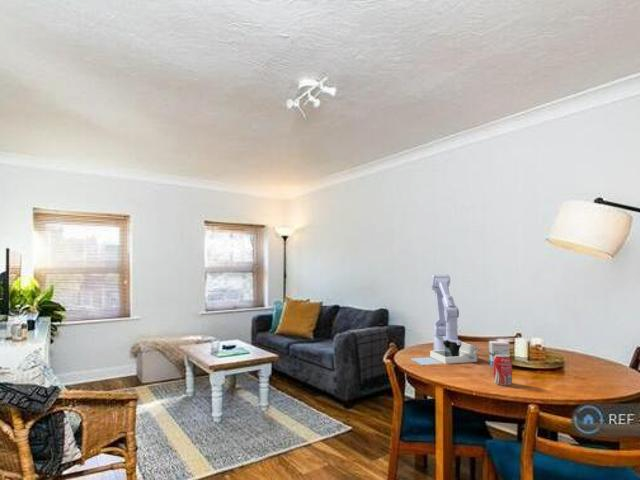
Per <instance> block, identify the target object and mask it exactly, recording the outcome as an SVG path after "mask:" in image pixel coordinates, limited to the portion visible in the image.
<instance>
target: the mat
mask: <svg viewBox="0 0 640 480" xmlns="http://www.w3.org/2000/svg"><path fill="white" fill-rule="evenodd" d="M410 360H411V361H413V362H414V363H417V364H418V365H421V366H422V367H423V366H425V365H438V364H439V365H440V364H441V365H442V364H443V362H440V361H438V360H436V359H434V358H432V357H430V356H429V357H428V356H426V357H413V358H412V357H411V358H410Z"/></svg>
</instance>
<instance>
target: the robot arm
mask: <svg viewBox="0 0 640 480" xmlns="http://www.w3.org/2000/svg"><path fill="white" fill-rule="evenodd" d="M450 285H451V276H450V275H449V274H432V275H431V276H430V287H431V290H433V291H434V294H435V303H436V313H437V314H436V315H437V320H435V321H434V322H433V324H432V326H433V335H434V338H433V350H431V351H439V350H445V347H451V350H452V357H455V356H457V354H458V351H459V348H460V347H461V345H462V342H463V341H462V340H461V339H459V337H458V318H459V315H460V311H459V308H458V306H457V305H456V304H455V300H454V297H453V296H451V295H450V289H449V287H450Z"/></svg>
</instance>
